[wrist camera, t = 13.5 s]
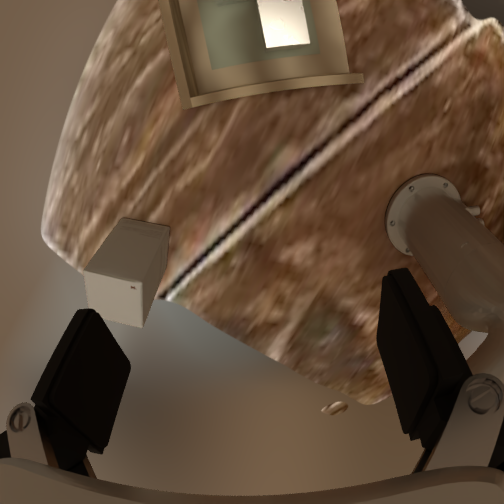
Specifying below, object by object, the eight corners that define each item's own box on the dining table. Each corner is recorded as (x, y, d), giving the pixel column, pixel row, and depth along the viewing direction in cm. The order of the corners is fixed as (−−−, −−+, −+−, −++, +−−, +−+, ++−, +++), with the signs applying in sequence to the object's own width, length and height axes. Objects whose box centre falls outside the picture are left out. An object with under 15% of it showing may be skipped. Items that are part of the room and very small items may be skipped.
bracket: (301, 48, 29) (310, 43, 24) (228, 58, 30) (222, 55, 24) (285, -30, 23) (290, -47, 18) (212, -19, 24) (204, -35, 19)
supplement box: (121, 215, 41) (81, 268, 31) (171, 226, 42) (143, 283, 31) (120, 259, 45) (88, 315, 35) (166, 269, 46) (143, 330, 35)
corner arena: (323, -40, 23) (334, -57, 18) (348, 80, 31) (364, 82, 26) (168, -15, 25) (152, -29, 20) (194, 103, 33) (182, 109, 28)
